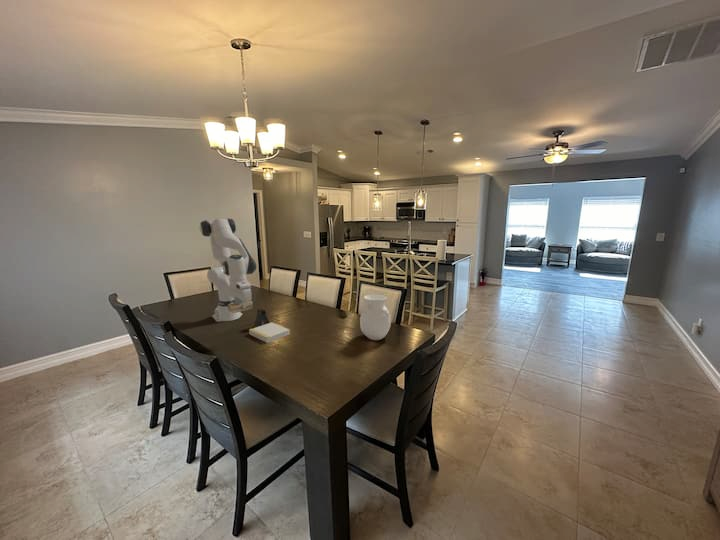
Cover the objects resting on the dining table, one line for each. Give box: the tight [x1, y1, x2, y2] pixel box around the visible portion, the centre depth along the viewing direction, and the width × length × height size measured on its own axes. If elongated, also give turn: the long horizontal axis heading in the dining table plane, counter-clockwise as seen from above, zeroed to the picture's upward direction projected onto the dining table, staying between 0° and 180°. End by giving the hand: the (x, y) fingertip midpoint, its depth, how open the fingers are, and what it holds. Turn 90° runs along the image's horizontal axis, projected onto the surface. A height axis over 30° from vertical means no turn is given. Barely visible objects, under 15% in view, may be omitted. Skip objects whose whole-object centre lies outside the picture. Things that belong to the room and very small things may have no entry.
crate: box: [235, 297, 242, 304], centre depth 165 cm, size 4×4×4 cm
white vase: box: [359, 293, 392, 341], centre depth 169 cm, size 19×18×25 cm
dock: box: [248, 322, 291, 344], centre depth 177 cm, size 20×16×3 cm
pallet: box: [228, 300, 254, 313], centre depth 166 cm, size 6×12×4 cm, turn 139°
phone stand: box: [253, 308, 271, 328], centre depth 189 cm, size 9×6×12 cm, turn 136°
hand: (240, 306), depth 166 cm, fingers closed on pallet, 6 cm apart
